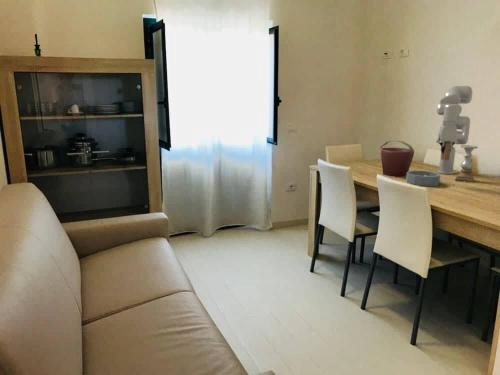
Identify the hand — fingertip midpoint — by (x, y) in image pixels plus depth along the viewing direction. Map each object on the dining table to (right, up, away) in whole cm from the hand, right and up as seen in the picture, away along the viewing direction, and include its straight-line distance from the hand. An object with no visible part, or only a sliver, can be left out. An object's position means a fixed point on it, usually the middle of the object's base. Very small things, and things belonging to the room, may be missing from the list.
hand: (445, 152), depth 253 cm
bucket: (-20, -13, +36) cm, 43 cm away
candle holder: (+22, -18, +17) cm, 33 cm away
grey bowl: (-11, -20, +9) cm, 24 cm away
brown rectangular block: (0, -5, +1) cm, 5 cm away
